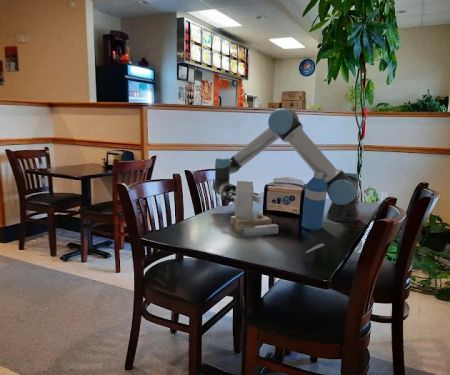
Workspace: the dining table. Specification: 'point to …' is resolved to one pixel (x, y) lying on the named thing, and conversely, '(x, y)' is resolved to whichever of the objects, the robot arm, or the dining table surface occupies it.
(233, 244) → the dining table surface
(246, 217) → the light grey rectangular block
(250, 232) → the stop rail
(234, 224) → the cradle
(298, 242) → the dining table surface
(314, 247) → the butter knife
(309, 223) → the water bottle
